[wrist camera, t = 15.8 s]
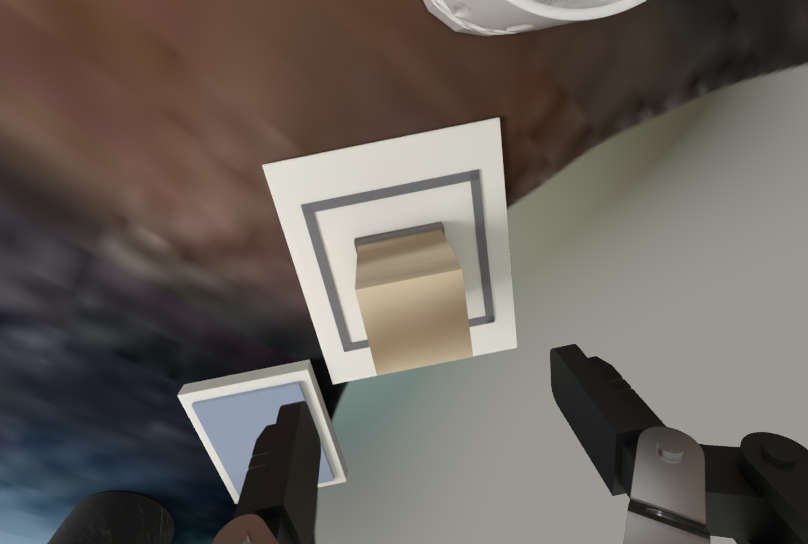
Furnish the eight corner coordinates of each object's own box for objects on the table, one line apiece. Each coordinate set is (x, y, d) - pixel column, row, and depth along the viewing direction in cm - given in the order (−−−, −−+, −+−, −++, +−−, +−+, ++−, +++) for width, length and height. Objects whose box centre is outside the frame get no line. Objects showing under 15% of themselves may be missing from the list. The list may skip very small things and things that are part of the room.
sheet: (263, 164, 21) (261, 165, 20) (497, 117, 21) (500, 118, 20) (333, 381, 27) (332, 385, 26) (515, 344, 27) (517, 348, 26)
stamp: (354, 238, 22) (350, 287, 17) (441, 221, 22) (465, 264, 17) (372, 313, 24) (374, 378, 19) (452, 297, 24) (476, 358, 19)
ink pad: (184, 384, 26) (175, 398, 25) (309, 359, 26) (306, 372, 25) (239, 491, 30) (234, 507, 29) (347, 469, 30) (346, 485, 29)
